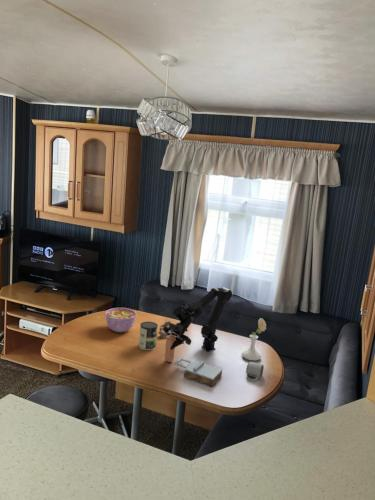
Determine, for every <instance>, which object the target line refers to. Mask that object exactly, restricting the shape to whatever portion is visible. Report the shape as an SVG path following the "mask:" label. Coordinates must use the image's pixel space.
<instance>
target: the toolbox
mask: <svg viewBox="0 0 375 500" xmlns="http://www.w3.org/2000/svg"><path fill="white" fill-rule="evenodd" d="M222 374H223V370H222V371H221V372H220V373H219V374H218V375H217V377H216V378H215V379H214V380H211V379H208V378H205V377H202V376H199V375H197V374H194V373H191V372H188V371H185V370H184V376H183V377H184V378H186V379H188V380H191V381H194V382H197V383H200V384H202V385H205V386H208V387H210V388H213V387H214V386H215V385H216V384H217V382H219V381H220V379H221V378H222Z"/></svg>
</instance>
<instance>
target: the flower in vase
mask: <svg viewBox="0 0 375 500" xmlns="http://www.w3.org/2000/svg"><path fill="white" fill-rule="evenodd" d="M257 325H258V328H257V329H256V331H255V332H254V331H252V332H251V334H249V338H250V345H249V346H250V347H248V348H246V349H244V350H243V351H242V352H241V356H242V357H243V358H244V359H246V360H249V361H258V360H260V359H261V358H262V355H261V353H260V352H259V351H258V350H257V349H256V347H255V345H256V341H257V339H258V338H259V336H258V335H256V334H261V333H262V332H265V330H267V323H266V321H265V320H264V318H263V317H262V318H261V317H260V318H259V319H258V321H257Z"/></svg>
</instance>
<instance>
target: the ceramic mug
mask: <svg viewBox="0 0 375 500" xmlns="http://www.w3.org/2000/svg"><path fill="white" fill-rule="evenodd" d="M245 373H246V379H247V380H248V381H249V382H252V381H253V382H256V381H257V380H258V379H259V380H261V379H262V377H263V373H264V364H262V363H257V362H253V361H249V362H248V363H247V365H246V370H245ZM250 377H252V378H253V379H251V378H250Z"/></svg>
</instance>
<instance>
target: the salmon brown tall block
mask: <svg viewBox="0 0 375 500" xmlns="http://www.w3.org/2000/svg"><path fill="white" fill-rule="evenodd" d="M165 339H166V341H165V351H164V360H165V361H167V362H168V363H170V362H172V361H174V359H175V358H174V357H175V348H174V349H172V350H171V349H170V348H171V346H172V345H173V343H174V342H175V340H176V336H173V335H168V336H166V338H165Z"/></svg>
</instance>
